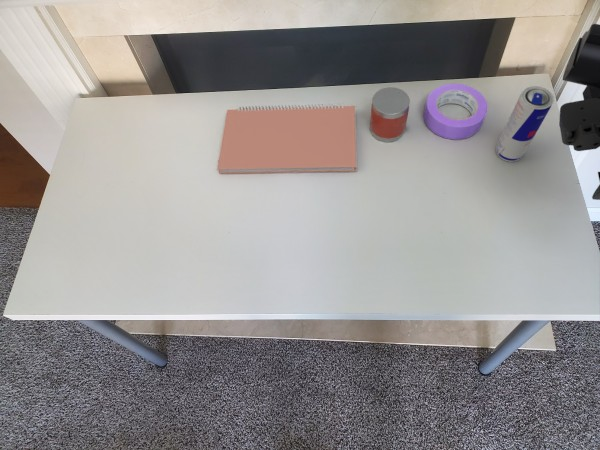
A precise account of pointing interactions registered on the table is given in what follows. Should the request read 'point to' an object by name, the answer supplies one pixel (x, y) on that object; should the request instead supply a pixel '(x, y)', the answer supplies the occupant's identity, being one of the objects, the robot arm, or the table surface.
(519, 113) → the beverage can
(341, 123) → the notebook
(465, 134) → the tape roll
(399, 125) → the food tin
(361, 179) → the table surface
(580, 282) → the table surface
